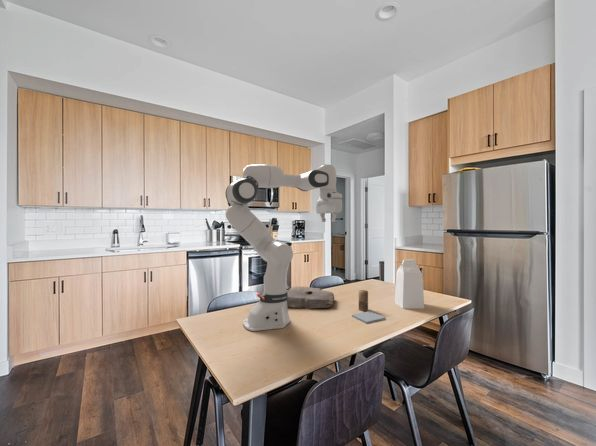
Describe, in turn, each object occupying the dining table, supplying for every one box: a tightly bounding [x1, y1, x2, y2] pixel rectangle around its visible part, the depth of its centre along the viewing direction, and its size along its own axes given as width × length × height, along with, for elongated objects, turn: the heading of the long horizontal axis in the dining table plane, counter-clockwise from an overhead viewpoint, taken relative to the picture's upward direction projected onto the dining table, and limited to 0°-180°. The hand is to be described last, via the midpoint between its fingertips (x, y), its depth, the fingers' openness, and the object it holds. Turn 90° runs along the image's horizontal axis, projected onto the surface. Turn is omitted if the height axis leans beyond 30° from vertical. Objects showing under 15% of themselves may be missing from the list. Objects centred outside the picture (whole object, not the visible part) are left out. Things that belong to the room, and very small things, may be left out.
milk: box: [394, 259, 425, 310], centre depth 156 cm, size 12×12×26 cm
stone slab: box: [287, 286, 335, 310], centre depth 165 cm, size 31×29×6 cm
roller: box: [358, 289, 369, 312], centre depth 149 cm, size 5×5×10 cm
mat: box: [351, 310, 387, 324], centre depth 137 cm, size 12×11×1 cm
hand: (328, 221), depth 146 cm, fingers open, 8 cm apart
